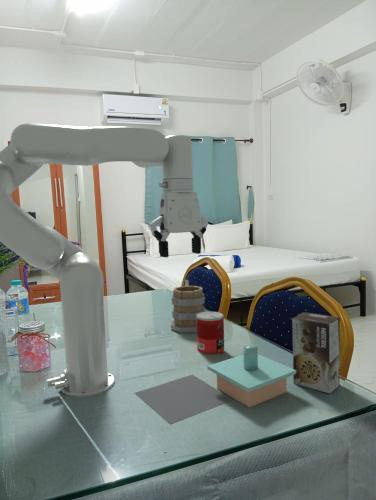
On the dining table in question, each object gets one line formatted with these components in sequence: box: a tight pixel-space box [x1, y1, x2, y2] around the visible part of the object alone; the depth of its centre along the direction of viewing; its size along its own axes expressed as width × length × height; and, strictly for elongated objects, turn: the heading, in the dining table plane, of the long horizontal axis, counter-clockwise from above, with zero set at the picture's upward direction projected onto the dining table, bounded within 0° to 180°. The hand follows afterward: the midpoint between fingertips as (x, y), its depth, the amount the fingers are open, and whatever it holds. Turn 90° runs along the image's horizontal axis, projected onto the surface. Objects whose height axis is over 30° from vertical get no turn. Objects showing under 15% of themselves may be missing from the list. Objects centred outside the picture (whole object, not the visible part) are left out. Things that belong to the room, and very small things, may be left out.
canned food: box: [196, 311, 225, 355], centre depth 114 cm, size 8×8×11 cm
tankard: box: [170, 279, 207, 334], centre depth 141 cm, size 20×13×15 cm, turn 179°
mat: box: [134, 374, 234, 425], centre depth 86 cm, size 16×16×1 cm
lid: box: [206, 343, 296, 392], centre depth 87 cm, size 14×14×6 cm
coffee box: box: [291, 311, 341, 394], centre depth 91 cm, size 9×6×16 cm
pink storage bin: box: [216, 374, 287, 409], centre depth 88 cm, size 11×11×5 cm
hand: (180, 255), depth 99 cm, fingers open, 9 cm apart
